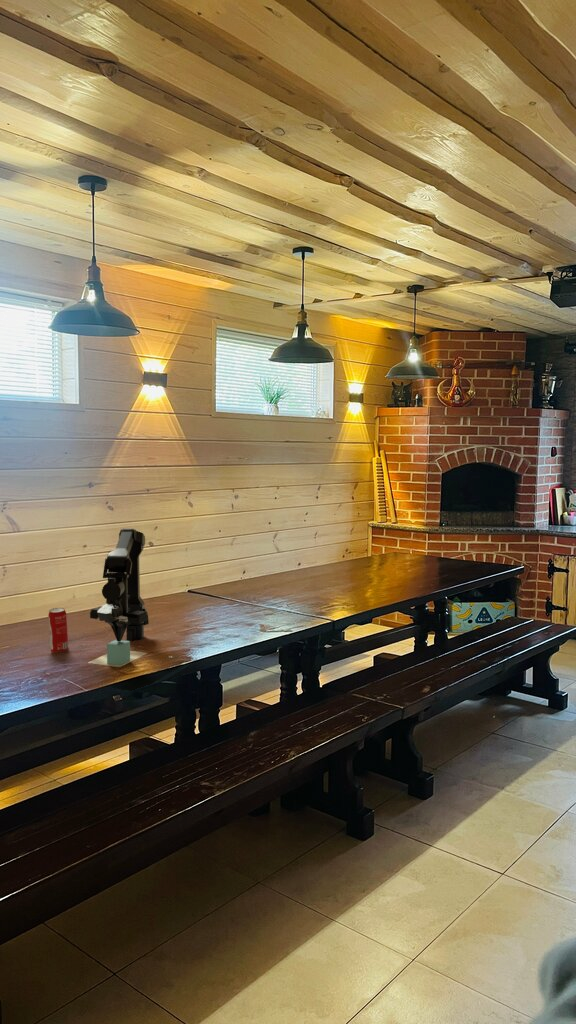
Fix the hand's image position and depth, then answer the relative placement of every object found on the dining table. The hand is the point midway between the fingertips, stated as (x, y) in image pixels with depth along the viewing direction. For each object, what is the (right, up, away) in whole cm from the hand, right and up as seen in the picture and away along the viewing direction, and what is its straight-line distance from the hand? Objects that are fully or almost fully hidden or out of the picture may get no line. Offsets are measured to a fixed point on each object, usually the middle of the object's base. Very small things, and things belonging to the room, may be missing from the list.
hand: (119, 641), depth 229 cm
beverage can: (-24, -7, +14) cm, 28 cm away
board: (-1, -7, +5) cm, 9 cm away
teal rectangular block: (0, -7, 0) cm, 7 cm away
